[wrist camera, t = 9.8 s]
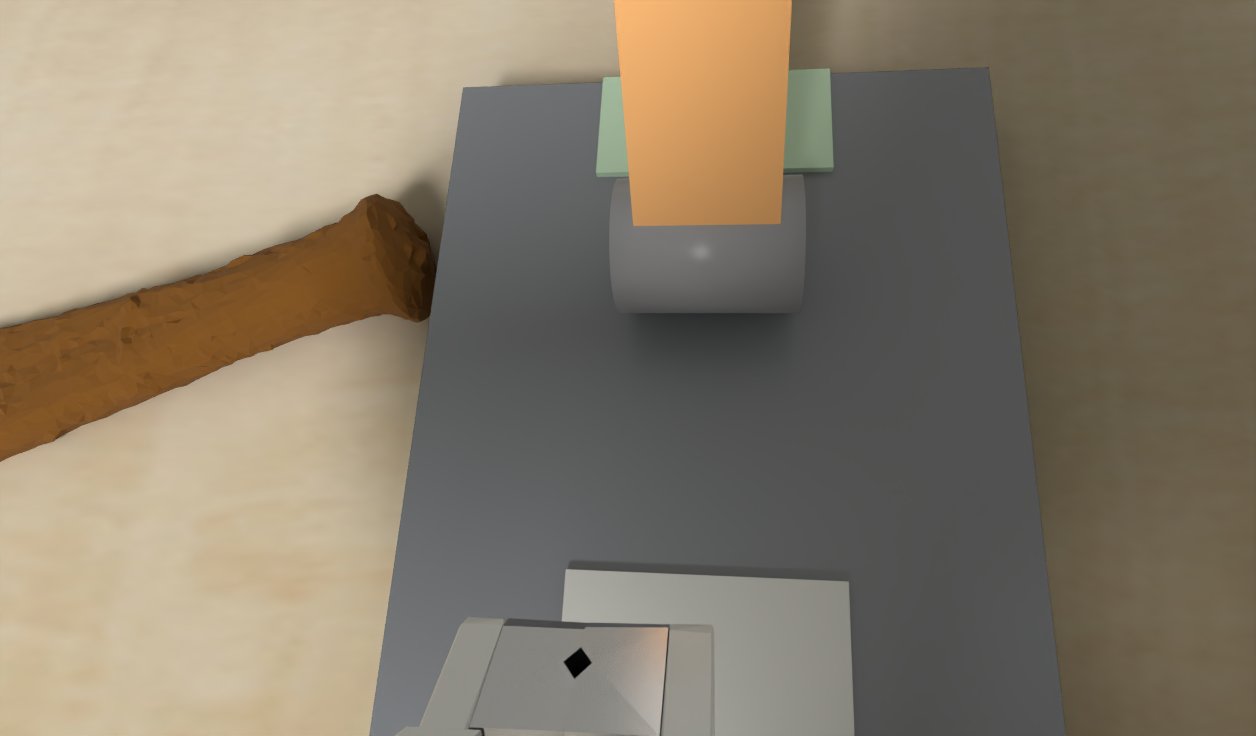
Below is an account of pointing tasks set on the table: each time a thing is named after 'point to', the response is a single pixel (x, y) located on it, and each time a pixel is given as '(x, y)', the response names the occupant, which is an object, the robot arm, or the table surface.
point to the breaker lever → (706, 161)
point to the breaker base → (739, 425)
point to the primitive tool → (208, 322)
